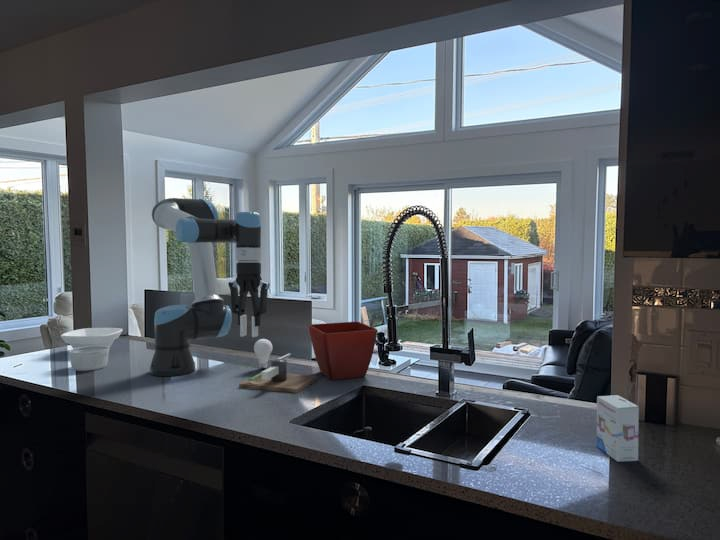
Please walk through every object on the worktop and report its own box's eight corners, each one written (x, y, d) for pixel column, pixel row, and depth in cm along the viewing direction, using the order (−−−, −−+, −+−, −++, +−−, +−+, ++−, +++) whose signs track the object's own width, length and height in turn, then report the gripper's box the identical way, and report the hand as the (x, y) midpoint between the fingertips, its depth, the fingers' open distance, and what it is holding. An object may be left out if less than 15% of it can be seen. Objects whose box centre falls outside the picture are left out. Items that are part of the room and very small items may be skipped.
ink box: (594, 446, 115) (595, 394, 115) (615, 445, 116) (617, 394, 115) (616, 462, 107) (618, 406, 106) (639, 461, 107) (641, 406, 107)
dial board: (238, 387, 162) (238, 383, 162) (263, 374, 178) (263, 370, 178) (296, 393, 156) (296, 388, 156) (317, 379, 172) (316, 374, 172)
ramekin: (60, 370, 184) (60, 350, 184) (92, 362, 196) (91, 344, 196) (87, 373, 179) (86, 354, 179) (117, 365, 191) (117, 347, 191)
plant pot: (324, 384, 166) (324, 332, 165) (308, 370, 184) (308, 324, 183) (378, 378, 173) (378, 329, 172) (357, 366, 191) (357, 321, 190)
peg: (283, 372, 175) (283, 353, 175) (296, 373, 174) (296, 354, 174) (257, 386, 158) (257, 365, 157) (271, 387, 156) (271, 366, 156)
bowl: (105, 357, 204) (104, 336, 204) (53, 357, 204) (53, 336, 204) (129, 347, 225) (128, 327, 224) (82, 346, 225) (82, 327, 225)
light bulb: (274, 366, 189) (274, 337, 188) (269, 371, 182) (269, 340, 182) (257, 366, 190) (256, 337, 189) (251, 370, 183) (251, 340, 182)
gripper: (218, 261, 158) (219, 336, 159) (266, 262, 153) (267, 339, 155) (231, 261, 165) (232, 332, 167) (277, 261, 161) (278, 335, 162)
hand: (249, 335), depth 161 cm, fingers open, 3 cm apart
